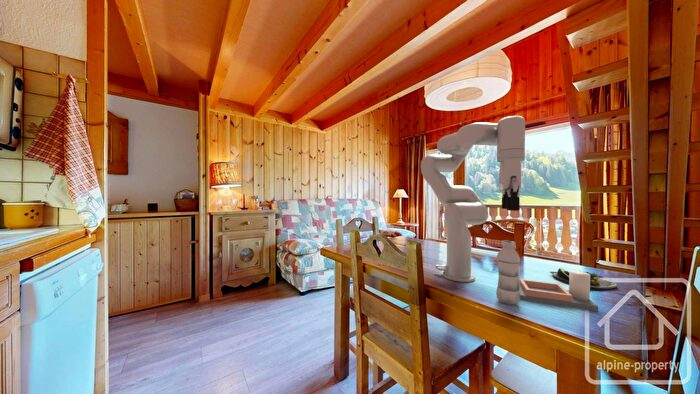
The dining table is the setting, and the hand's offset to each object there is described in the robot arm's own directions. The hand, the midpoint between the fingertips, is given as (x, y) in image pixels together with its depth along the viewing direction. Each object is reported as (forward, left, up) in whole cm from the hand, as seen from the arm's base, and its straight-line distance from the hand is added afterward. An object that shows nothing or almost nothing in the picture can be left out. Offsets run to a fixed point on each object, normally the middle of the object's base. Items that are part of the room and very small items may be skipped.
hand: (510, 209), depth 80 cm
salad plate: (+30, +35, -31) cm, 55 cm away
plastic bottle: (0, 0, -31) cm, 31 cm away
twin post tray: (+12, +11, -30) cm, 34 cm away
